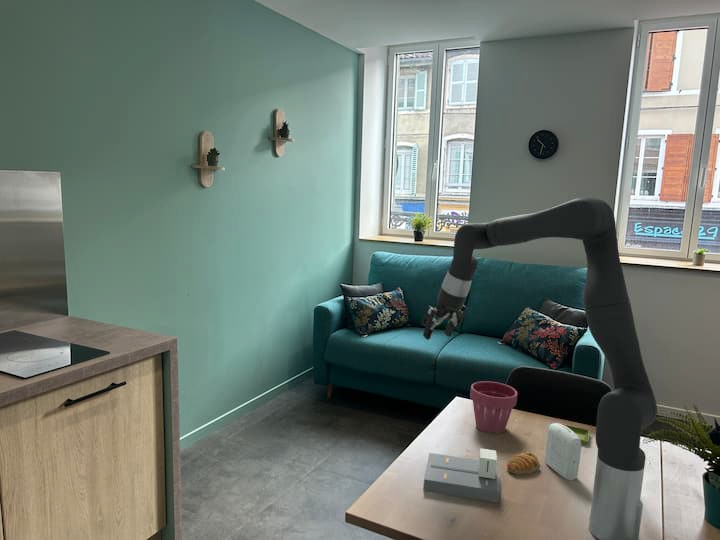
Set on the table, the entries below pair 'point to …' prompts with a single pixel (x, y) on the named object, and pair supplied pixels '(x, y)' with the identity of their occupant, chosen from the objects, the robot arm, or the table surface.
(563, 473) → the photo printer
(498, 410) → the plant pot
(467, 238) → the robot arm
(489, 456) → the fader tab
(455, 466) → the console
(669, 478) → the table surface
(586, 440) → the saucer
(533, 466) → the pastry
